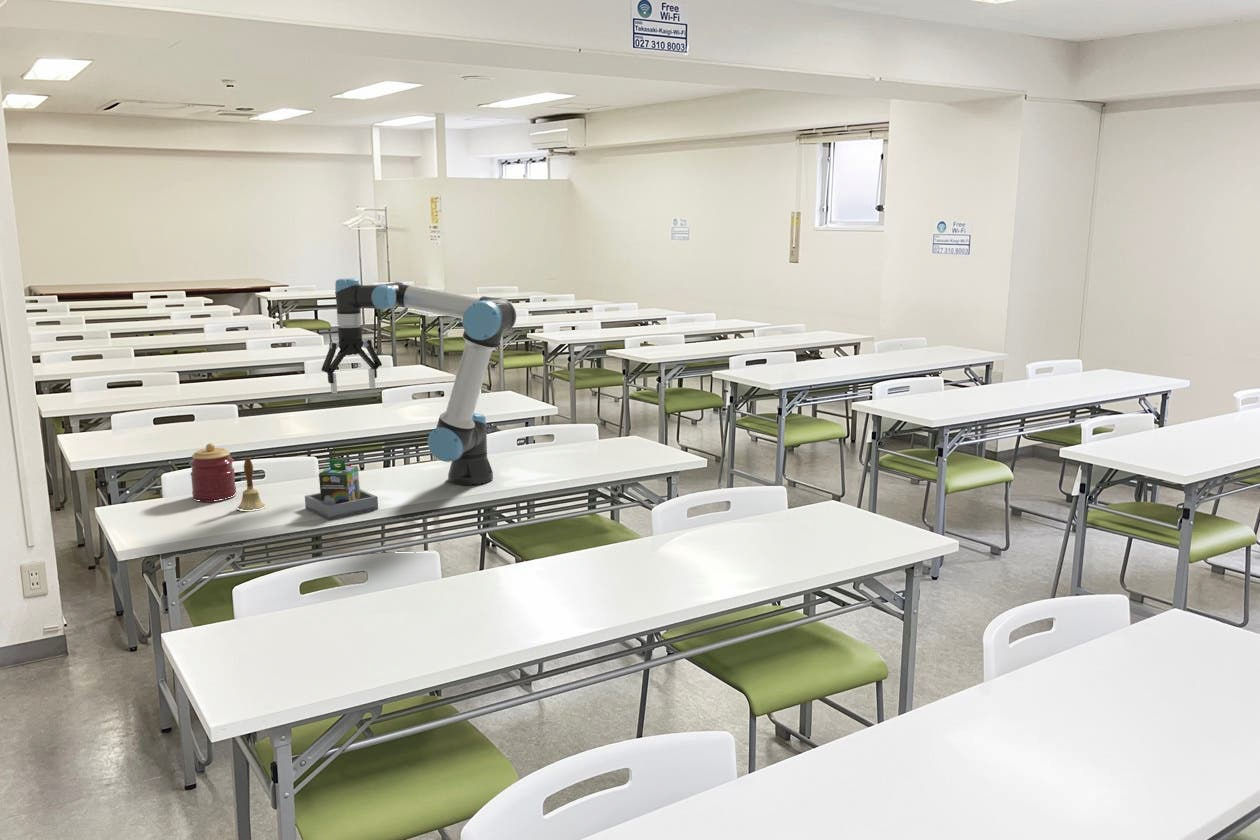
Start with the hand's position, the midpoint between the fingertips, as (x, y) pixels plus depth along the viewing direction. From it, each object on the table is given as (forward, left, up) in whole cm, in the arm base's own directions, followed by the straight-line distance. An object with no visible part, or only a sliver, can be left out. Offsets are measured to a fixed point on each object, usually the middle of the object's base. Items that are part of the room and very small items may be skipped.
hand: (353, 390), depth 320 cm
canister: (+42, -16, -32) cm, 55 cm away
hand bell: (+38, +4, -32) cm, 50 cm away
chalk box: (+18, +24, -31) cm, 43 cm away
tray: (+18, +24, -32) cm, 44 cm away
